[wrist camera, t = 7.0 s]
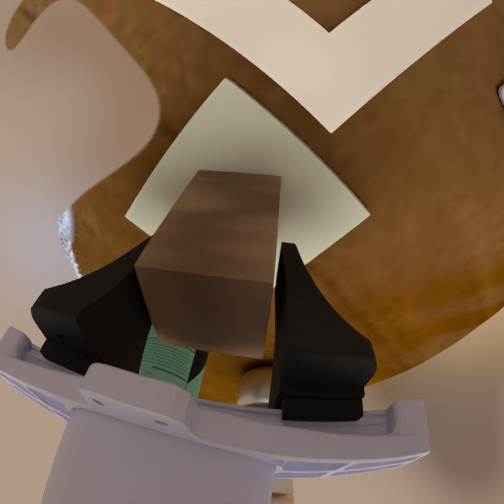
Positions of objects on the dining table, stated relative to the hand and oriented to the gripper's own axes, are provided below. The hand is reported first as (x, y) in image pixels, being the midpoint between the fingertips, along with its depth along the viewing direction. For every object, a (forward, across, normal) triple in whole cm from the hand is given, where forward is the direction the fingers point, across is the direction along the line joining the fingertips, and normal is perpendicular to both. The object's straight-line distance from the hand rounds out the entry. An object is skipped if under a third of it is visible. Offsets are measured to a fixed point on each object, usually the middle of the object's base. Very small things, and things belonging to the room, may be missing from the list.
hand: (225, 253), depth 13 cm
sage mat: (+5, 0, 0) cm, 5 cm away
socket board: (+5, -3, -15) cm, 16 cm away
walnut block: (+4, 0, 0) cm, 4 cm away
